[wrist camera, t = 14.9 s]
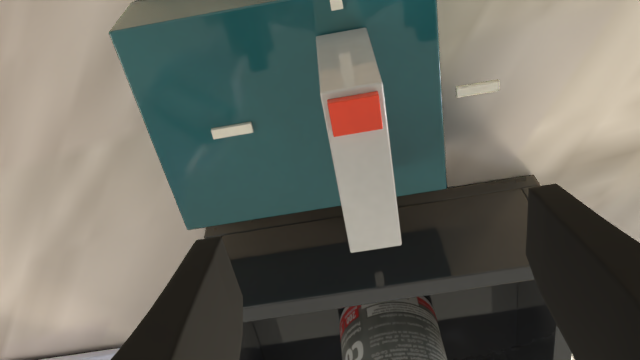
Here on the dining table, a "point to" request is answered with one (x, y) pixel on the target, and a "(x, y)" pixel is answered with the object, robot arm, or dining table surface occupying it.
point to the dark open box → (397, 276)
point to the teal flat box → (275, 99)
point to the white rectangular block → (359, 138)
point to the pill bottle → (391, 331)
